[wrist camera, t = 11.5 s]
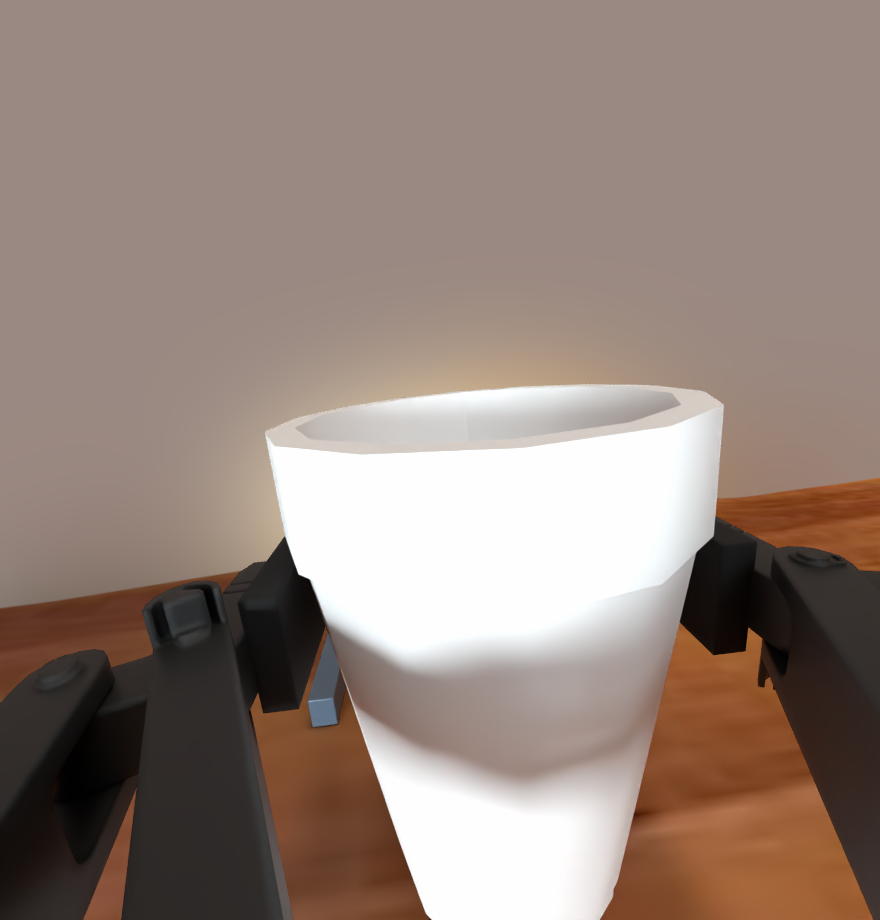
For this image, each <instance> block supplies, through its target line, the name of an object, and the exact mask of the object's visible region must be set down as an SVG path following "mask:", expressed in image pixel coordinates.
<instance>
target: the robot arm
mask: <svg viewBox="0 0 880 920" xmlns="http://www.w3.org/2000/svg"><path fill="white" fill-rule="evenodd" d="M142 614H143V617H144V620H145V624H146V627H147V630H148V633H149V637H150V640H151V643H152V647H153V655H150V656H148V657H145V658H142V659H138V660H135V661H132V662H128V663H125V664H122V665H119V666H115V667H112V668H111V666H110V663H109V660H108V657H107V655H106V653H105V652H104V651H102V650H96V649H92V650H86V651H79V652H76V653H73V654H70V655H64V656H62V657H59V658H57V660H52V661H50V662H48V663H46V664H45V665H43V667H41V668H40V669H38V670H36V671H35V672H33V673H32V674H30V675H28V676H27V677H26V678H25V679H24V680H23V681H22V682H20V683H19V684H18V685H17V686H16V687H15V688H14V689H13V690H12V691H11V692H10V693H9V695H8V696H7V697H6V698H5V699H4V700H3V701H2V702H1V703H0V920H83V919H84V916H85V914H86V911H87V909H88V906H89V904H90V901H91V899H92V896H93V894H94V892H95V889H96V887H97V884H98V882H99V879H100V877H101V874H102V872H103V869H104V867H105V864H106V862H107V859H108V857H109V854H110V852H111V849H112V847H113V844H114V842H115V840H116V837H117V835H118V832H119V830H120V827H121V825H122V822H123V820H124V817H125V815H126V812H127V810H128V807H129V805H130V802H131V800H132V797H133V795H134V793H135V790H136V788H137V791H136V799H135V808H134V816H133V824H132V833H131V841H130V850H129V858H128V867H127V875H126V884H125V892H124V901H123V909H122V918H121V920H293V915H292V910H291V905H290V900H289V895H288V890H287V885H286V881H285V876H284V871H283V866H282V861H281V856H280V851H279V846H278V841H277V836H276V831H275V826H274V821H273V816H272V811H271V806H270V801H269V796H268V792H267V787H266V782H265V777H264V772H263V767H262V762H261V757H260V752H259V747H258V742H257V737H256V732H255V727H254V723H253V719H252V715H251V710H250V709H251V706H252V704H253V702H254V700H255V698H256V696H257V693H259V697H260V702H261V706H262V710H263V713H271V712H279V711H286V710H294V709H299V706H300V703H301V700H302V697H303V694H304V691H305V688H306V685H307V682H308V678H309V675H310V672H311V669H312V666H313V663H314V660H315V657H316V654H317V651H318V648H319V644H320V641H321V638H322V635H323V632H324V629H325V623H324V620H323V617H322V614H321V611H320V608H319V605H318V602H317V599H316V596H315V593H314V590H313V587H312V585H311V582H310V579H308V578H306V577H304V576H301V575H299V574H298V571H297V568H296V565H295V563H294V560H293V557H292V554H291V551H290V548H289V546H288V543H287V540H286V537H284V538H283V539H282V541H281V542H280V544H279V545H278V546H277V548H276V549H275V551H274V552H273V553H272V555H271V556H270V557H269V559H268V560H267V561H266V562H257V563H253V564H251V565H250V566H248V567H247V568H245V569H244V570H242V571H241V572H239V573H238V575H237V576H236V577H235V578H234V580H233V581H232V582H231V583H230V585H229V586H228V587H227V588H226V589H225V591H224V592H223V595H222V593H221V589H220V586H219V585H218V584H217V582H213V581H196V582H191V583H187V584H183V585H180V586H177V587H175V588H172V589H169V590H167V591H165V592H163V593H162V594H160V595H158V596H156V597H155V598H153V599H152V600H151V601H150V602H148V603H147V604H146V605H145V607H144V609H143V610H142ZM680 623H681V624H682V625H683V626H684V627H685V628H686V629H687V630H688V631H689V632H690V633H691V634H692V635H693V636H694V637H695V638H696V639H697V640H698V641H700V642H701V643H702V644H703V645H704V646H705V647H706V648H707V649H708V650H709V651H710V652H711V653H712V654H713V655H719V654H727V653H735V652H743V651H746V642H747V633H748V627H749V628H750V629H751V630H753V631H754V632H755V633H756V634H758V635H759V636H760V637H761V638H763V639H762V648H761V656H760V664H759V673H758V686H759V687H764V686H765V680H766V679H768V678H769V677H770V678H771V681H772V683H773V689H774V690H776V692H777V695H778V697H779V699H780V702H781V704H782V706H783V709H784V711H785V713H786V716H787V718H788V720H789V723H790V725H791V728H792V730H793V732H794V735H795V737H796V739H797V742H798V744H799V746H800V749H801V751H802V753H803V756H804V758H805V760H806V763H807V765H808V767H809V770H810V772H811V774H812V777H813V779H814V781H815V784H816V786H817V788H818V791H819V793H820V795H821V798H822V800H823V802H824V805H825V807H826V810H827V812H828V814H829V817H830V819H831V821H832V824H833V826H834V828H835V831H836V833H837V835H838V838H839V840H840V842H841V845H842V847H843V849H844V852H845V854H846V856H847V859H848V861H849V863H850V866H851V868H852V870H853V873H854V875H855V877H856V880H857V882H858V884H859V887H860V889H861V892H862V894H863V896H864V899H865V901H866V903H867V906H868V908H869V910H870V913H871V915H872V917H873V920H880V572H879V571H859V570H858V569H857V568H856V567H855V566H854V565H853V564H852V563H850V562H849V561H847V560H846V559H845V558H842V557H841V556H839V555H836V554H833V553H830V552H826V551H822V550H819V549H814V548H807V547H794V546H787V547H781V548H776V547H774V546H772V545H771V544H769V543H767V542H765V541H763V540H761V539H759V538H757V537H755V536H753V535H751V534H749V533H744V531H743V530H741V529H739V528H737V527H735V526H732V525H731V524H729V523H727V522H725V521H724V520H722V519H720V518H718V517H715V525H714V536H713V537H712V538H711V539H710V540H709V541H708V542H707V543H706V544H705V545H704V546H703V547H701V548H700V549H699V550H698V551H697V552H696V555H695V559H694V564H693V568H692V572H691V576H690V580H689V585H688V589H687V593H686V597H685V601H684V605H683V610H682V614H681V618H680Z"/></svg>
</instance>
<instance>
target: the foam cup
mask: <svg viewBox="0 0 880 920" xmlns="http://www.w3.org/2000/svg"><path fill="white" fill-rule="evenodd" d="M723 409H724V405H723V404H722V403H720V402H719V401H718V400H716V399H715V398H713V397H712V396H710V395H709V394H707V393H706V392H704V391H698V390H689V389H680V388H671V387H662V386H654V385H608V384H602V385H601V384H581V385H555V386H554V385H553V386H525V387H512V388H497V389H485V390H471V391H460V392H450V393H441V394H432V395H423V396H414V397H405V398H398V399H392V400H385V401H378V402H372V403H365V404H359V405H353V406H346V407H342V408H338V409H333V410H329V411H324V412H320V413H315V414H311V415H307V416H302V417H298V418H295V419H293V420H291V421H288V422H286V423H283V424H281V425H279V426H277V427H274V428H272V429H269V430H267V431H265V437H266V441H267V447H268V452H269V457H270V462H271V467H272V472H273V478H274V483H275V488H276V493H277V498H278V503H279V508H280V513H281V518H282V524H283V529H284V534H285V537H286V540H287V543H288V546H289V548H290V551H291V554H292V557H293V560H294V563H295V565H296V568H297V571H298V574H299V575H301V576H304V577H306V578H308V579H310V582H311V585H312V587H313V590H314V593H315V596H316V599H317V602H318V605H319V608H320V611H321V614H322V617H323V620H324V623H325V626H326V628H327V631H328V634H329V637H330V640H331V643H332V646H333V649H334V652H335V655H336V658H337V661H338V664H339V666H340V669H341V672H342V675H343V678H344V681H345V684H346V687H347V690H348V693H349V696H350V699H351V702H352V704H353V707H354V710H355V713H356V716H357V719H358V722H359V725H360V728H361V731H362V734H363V737H364V740H365V742H366V745H367V748H368V751H369V754H370V757H371V760H372V763H373V766H374V769H375V772H376V775H377V778H378V780H379V783H380V786H381V789H382V792H383V795H384V798H385V801H386V804H387V807H388V810H389V813H390V816H391V818H392V821H393V824H394V827H395V830H396V833H397V836H398V839H399V842H400V845H401V847H402V850H403V853H404V856H405V858H406V861H407V864H408V867H409V869H410V872H411V875H412V877H413V880H414V883H415V886H416V888H417V891H418V894H419V897H420V899H421V901H422V904H423V907H424V910H425V912H426V914H427V915H428V916H429V917H430V918H431V919H432V920H600V918H601V917H602V915H603V913H604V911H605V910H606V908H607V906H608V905H609V903H610V901H611V899H612V898H613V888H614V887H615V885H616V883H617V881H618V877H619V873H620V869H621V865H622V860H623V856H624V852H625V848H626V844H627V839H628V835H629V831H630V827H631V823H632V819H633V814H634V810H635V806H636V802H637V798H638V794H639V789H640V785H641V781H642V777H643V773H644V768H645V764H646V760H647V756H648V752H649V748H650V743H651V739H652V735H653V731H654V727H655V722H656V718H657V714H658V710H659V706H660V702H661V697H662V693H663V689H664V685H665V681H666V676H667V672H668V668H669V664H670V660H671V656H672V651H673V647H674V643H675V639H676V635H677V630H678V626H679V622H680V618H681V614H682V610H683V605H684V601H685V597H686V593H687V589H688V585H689V580H690V576H691V572H692V568H693V564H694V559H695V555H696V552H697V551H698V550H699V549H700V548H701V547H703V546H704V545H705V544H706V543H707V542H708V541H709V540H710V539H711V538H712V537H713V536H714V525H715V513H716V500H717V487H718V473H719V461H720V449H721V448H720V447H721V435H722V422H723Z"/></svg>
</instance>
